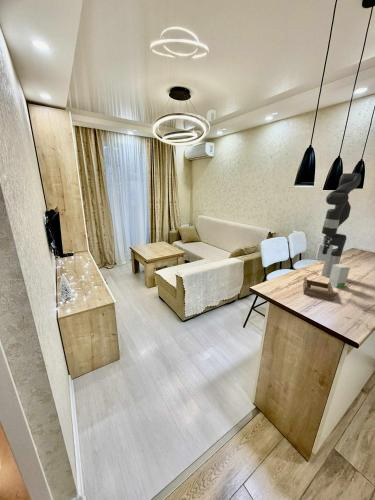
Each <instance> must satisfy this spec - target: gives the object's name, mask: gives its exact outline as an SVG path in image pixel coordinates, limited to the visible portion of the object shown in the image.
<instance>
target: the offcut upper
mask: <svg viewBox="0 0 375 500" xmlns="http://www.w3.org/2000/svg"><path fill="white" fill-rule="evenodd" d="M310 289H314V290H318V291H323V292H328V289H326V288H321V287H316V286H312V285H311V287H310Z"/></svg>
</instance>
